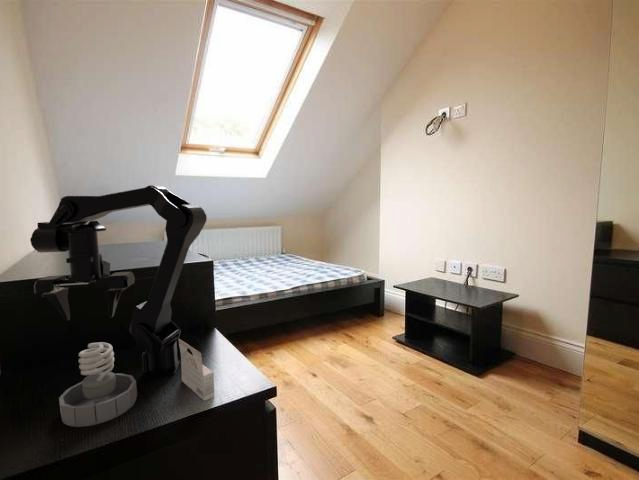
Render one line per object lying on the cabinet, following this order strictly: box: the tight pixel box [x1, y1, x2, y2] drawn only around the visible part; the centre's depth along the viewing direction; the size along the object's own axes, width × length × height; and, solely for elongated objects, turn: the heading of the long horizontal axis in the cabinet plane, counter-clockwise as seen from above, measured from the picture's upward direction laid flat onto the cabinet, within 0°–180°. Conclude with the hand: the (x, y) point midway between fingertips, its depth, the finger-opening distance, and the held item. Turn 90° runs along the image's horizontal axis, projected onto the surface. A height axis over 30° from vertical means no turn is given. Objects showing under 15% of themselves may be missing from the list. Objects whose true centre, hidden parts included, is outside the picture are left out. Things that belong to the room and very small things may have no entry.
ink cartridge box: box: [177, 338, 215, 402], centre depth 72 cm, size 2×11×10 cm, turn 43°
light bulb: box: [78, 341, 116, 404], centre depth 66 cm, size 6×6×12 cm
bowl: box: [58, 372, 138, 428], centre depth 67 cm, size 12×12×4 cm
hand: (90, 318), depth 82 cm, fingers open, 9 cm apart
